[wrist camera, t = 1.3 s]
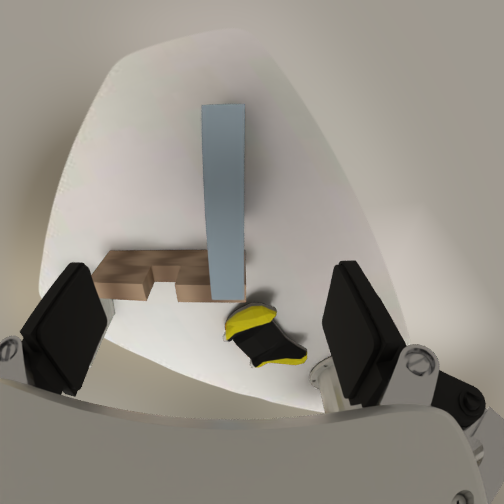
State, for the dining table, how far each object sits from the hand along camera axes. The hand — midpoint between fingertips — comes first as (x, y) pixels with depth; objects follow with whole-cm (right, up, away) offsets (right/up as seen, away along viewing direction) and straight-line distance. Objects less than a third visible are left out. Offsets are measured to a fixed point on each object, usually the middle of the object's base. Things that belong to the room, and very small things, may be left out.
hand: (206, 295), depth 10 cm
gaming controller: (+3, -11, +35) cm, 37 cm away
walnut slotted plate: (-9, +1, +28) cm, 29 cm away
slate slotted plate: (-1, +12, +22) cm, 25 cm away
